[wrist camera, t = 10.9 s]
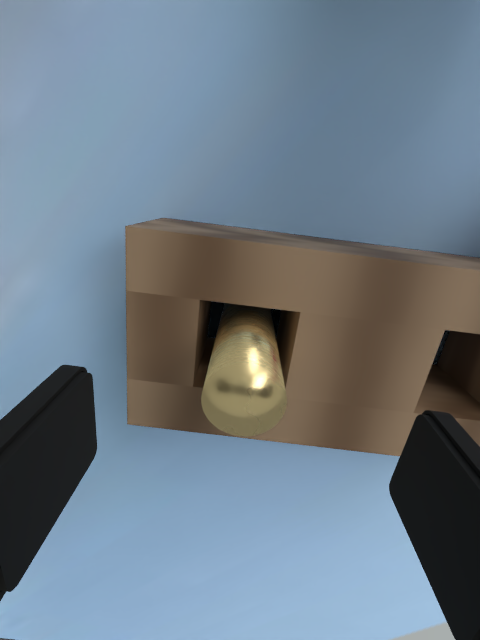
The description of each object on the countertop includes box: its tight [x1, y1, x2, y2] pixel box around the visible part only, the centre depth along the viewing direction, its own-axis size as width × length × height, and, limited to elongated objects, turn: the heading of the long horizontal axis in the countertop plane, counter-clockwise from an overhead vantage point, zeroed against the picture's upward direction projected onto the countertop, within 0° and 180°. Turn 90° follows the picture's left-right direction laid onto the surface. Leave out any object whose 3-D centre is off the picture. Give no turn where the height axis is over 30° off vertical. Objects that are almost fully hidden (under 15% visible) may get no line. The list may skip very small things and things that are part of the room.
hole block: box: [125, 218, 480, 456], centre depth 18 cm, size 22×10×6 cm, turn 83°
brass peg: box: [201, 303, 287, 436], centre depth 16 cm, size 3×3×10 cm
